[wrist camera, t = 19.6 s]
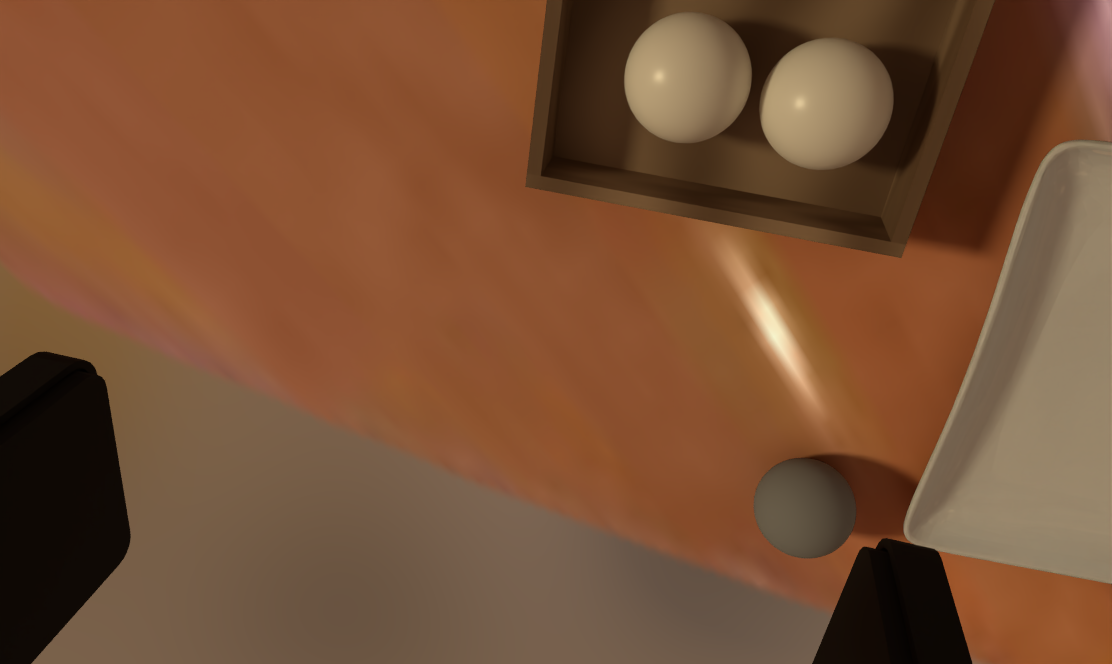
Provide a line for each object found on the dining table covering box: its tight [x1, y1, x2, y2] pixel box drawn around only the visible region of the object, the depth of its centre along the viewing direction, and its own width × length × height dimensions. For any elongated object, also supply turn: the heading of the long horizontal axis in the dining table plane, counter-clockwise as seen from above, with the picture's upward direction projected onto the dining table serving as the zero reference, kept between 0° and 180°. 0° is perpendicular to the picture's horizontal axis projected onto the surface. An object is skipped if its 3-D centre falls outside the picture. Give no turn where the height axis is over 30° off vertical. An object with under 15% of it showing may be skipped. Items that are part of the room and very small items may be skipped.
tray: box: [525, 0, 995, 258], centre depth 35 cm, size 16×11×4 cm
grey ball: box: [754, 458, 856, 558], centre depth 43 cm, size 5×5×5 cm
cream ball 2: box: [759, 38, 894, 170], centre depth 33 cm, size 5×5×5 cm
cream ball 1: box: [624, 12, 752, 143], centre depth 34 cm, size 5×5×5 cm
